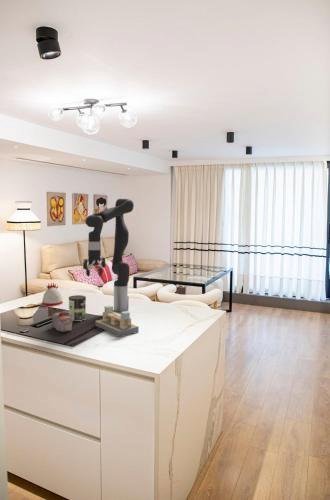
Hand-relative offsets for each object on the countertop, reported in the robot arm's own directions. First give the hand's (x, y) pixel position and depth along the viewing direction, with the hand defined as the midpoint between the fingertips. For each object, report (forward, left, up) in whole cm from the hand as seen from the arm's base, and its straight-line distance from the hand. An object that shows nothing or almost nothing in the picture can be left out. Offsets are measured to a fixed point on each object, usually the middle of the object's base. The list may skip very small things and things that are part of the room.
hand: (94, 275), depth 223 cm
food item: (+24, +4, -28) cm, 37 cm away
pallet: (-1, +22, -25) cm, 33 cm away
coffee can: (+7, -8, -28) cm, 30 cm away
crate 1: (-1, +14, -20) cm, 24 cm away
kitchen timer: (+1, -53, -28) cm, 60 cm away
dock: (-1, +22, -28) cm, 36 cm away
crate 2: (-1, +30, -20) cm, 36 cm away
